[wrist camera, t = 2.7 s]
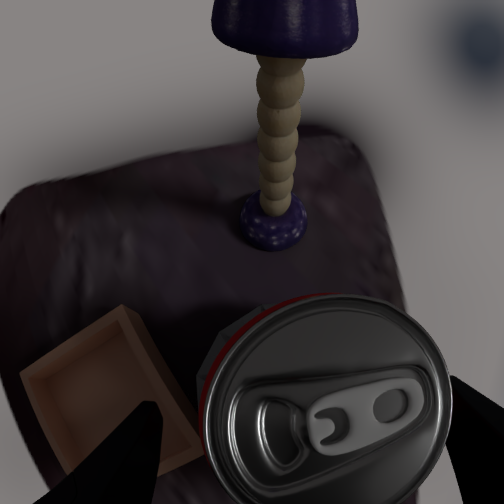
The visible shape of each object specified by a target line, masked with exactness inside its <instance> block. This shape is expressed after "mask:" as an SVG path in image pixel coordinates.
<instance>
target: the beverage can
mask: <svg viewBox="0 0 504 504" xmlns="http://www.w3.org/2000/svg"><path fill="white" fill-rule="evenodd" d="M452 409H453V396H452V386H451V380H450V376H449V372H448V369H447V366H446V363H445V360H444V358H443V356H442V354H441V352H440V350H439V348H438V346H437V345H436V344H435V342H434V340H433V339H432V337H431V336H430V335H429V334H428V332H426V330H425V329H424V328H423V327H422V326H421V325H420V324H419V323H418V322H417V321H416V320H414V319H413V318H412V317H411V316H409V315H408V314H407V313H405V312H404V311H402V310H401V309H399V308H398V307H396V306H394V305H393V304H391V303H389V302H387V301H385V300H381V299H377V298H373V297H368V296H362V295H355V294H343V293H319V294H311V295H305V296H301V297H297V298H293V299H290V300H287V301H284V302H282V303H279V304H277V305H275V306H273V307H271V308H269V309H267V310H265V311H263V312H262V313H260V314H258V315H257V316H255V317H254V318H253V319H251V320H250V321H248V322H247V323H246V324H245V325H244V326H242V327H241V328H240V329H239V330H238V331H237V332H236V333H235V334H234V335H233V336H232V337H231V338H230V339H229V341H228V342H227V343H226V344H225V345H224V347H223V348H222V349H221V351H220V352H219V354H218V355H217V357H216V359H215V360H214V362H213V364H212V366H211V368H210V370H209V372H208V375H207V377H206V380H205V383H204V385H203V389H202V393H201V398H200V404H199V434H200V439H201V444H202V448H203V451H204V454H205V457H206V459H207V461H208V464H209V466H210V468H211V469H212V471H213V473H214V475H215V477H216V479H217V480H218V482H219V483H220V485H221V486H222V488H223V489H224V490H225V492H226V493H227V494H228V495H229V496H230V497H231V499H232V500H233V501H235V502H236V503H237V504H401V503H403V502H404V501H405V500H406V499H407V498H409V497H410V496H411V495H412V494H413V493H414V492H415V491H416V490H417V489H418V488H419V486H420V485H421V484H422V483H423V482H424V480H425V479H426V478H427V477H428V475H429V474H430V472H431V471H432V469H433V468H434V466H435V464H436V463H437V461H438V459H439V457H440V455H441V453H442V450H443V448H444V446H445V443H446V440H447V437H448V434H449V429H450V425H451V419H452Z"/></svg>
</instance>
